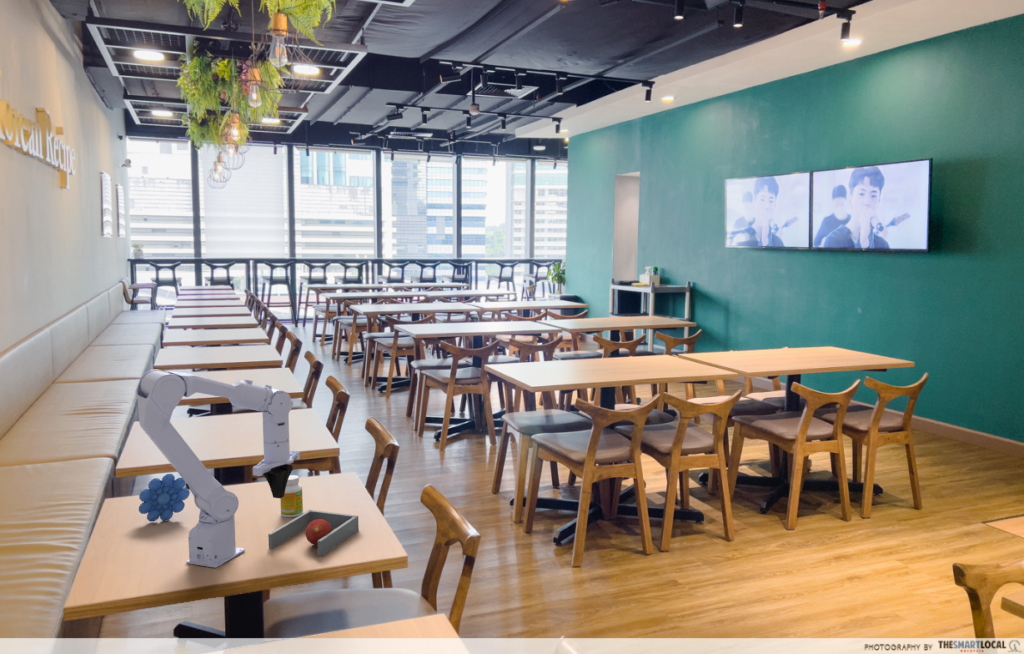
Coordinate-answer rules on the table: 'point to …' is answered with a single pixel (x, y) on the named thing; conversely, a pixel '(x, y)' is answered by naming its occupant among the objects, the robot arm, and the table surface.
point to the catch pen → (336, 520)
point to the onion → (317, 530)
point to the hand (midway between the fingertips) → (278, 497)
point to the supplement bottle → (292, 498)
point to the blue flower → (163, 498)
